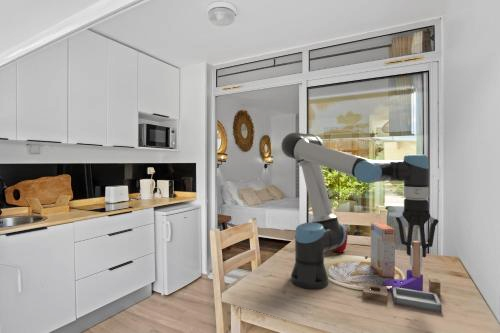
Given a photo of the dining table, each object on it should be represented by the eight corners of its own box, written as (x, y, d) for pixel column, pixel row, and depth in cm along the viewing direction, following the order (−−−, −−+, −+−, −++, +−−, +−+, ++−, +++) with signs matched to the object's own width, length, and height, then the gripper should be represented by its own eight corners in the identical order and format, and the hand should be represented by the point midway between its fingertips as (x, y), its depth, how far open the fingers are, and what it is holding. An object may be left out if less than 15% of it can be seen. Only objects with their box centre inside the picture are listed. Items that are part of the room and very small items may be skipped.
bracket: (411, 284, 115) (411, 268, 115) (422, 292, 108) (423, 274, 108) (382, 285, 114) (382, 269, 114) (392, 293, 107) (392, 275, 107)
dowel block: (363, 298, 103) (363, 291, 103) (363, 289, 110) (363, 282, 110) (387, 302, 100) (387, 295, 99) (386, 293, 107) (386, 286, 107)
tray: (393, 303, 99) (394, 297, 99) (392, 293, 107) (392, 286, 107) (441, 312, 93) (441, 305, 93) (436, 300, 101) (436, 293, 101)
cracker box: (395, 277, 121) (396, 229, 121) (381, 277, 122) (381, 228, 121) (383, 265, 135) (383, 222, 135) (370, 265, 136) (370, 221, 135)
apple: (324, 248, 162) (324, 225, 161) (341, 247, 163) (341, 224, 163) (333, 254, 151) (333, 229, 151) (351, 253, 153) (351, 228, 153)
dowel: (412, 276, 99) (412, 242, 99) (411, 273, 101) (411, 240, 101) (421, 277, 98) (421, 243, 98) (419, 275, 100) (419, 241, 100)
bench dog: (430, 294, 105) (430, 281, 105) (428, 290, 109) (429, 277, 109) (440, 296, 104) (440, 282, 104) (438, 291, 108) (438, 278, 108)
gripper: (392, 198, 99) (392, 265, 99) (444, 200, 93) (444, 272, 93) (391, 196, 106) (391, 259, 106) (439, 198, 100) (439, 264, 100)
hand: (416, 265), depth 100 cm, fingers closed on dowel, 2 cm apart
